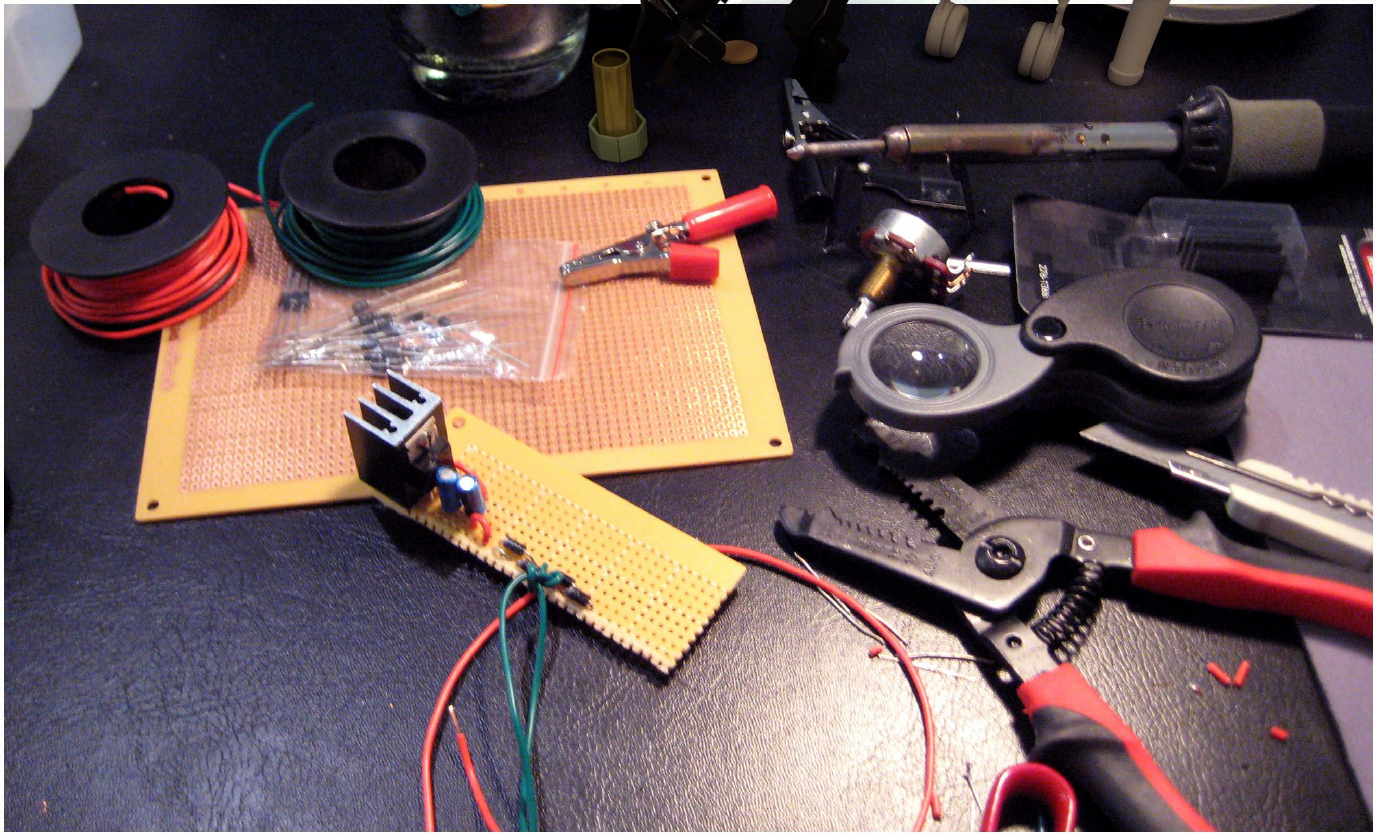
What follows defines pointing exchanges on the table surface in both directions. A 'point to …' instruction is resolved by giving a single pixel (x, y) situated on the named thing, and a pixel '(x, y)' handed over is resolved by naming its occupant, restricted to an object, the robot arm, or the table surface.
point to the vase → (614, 93)
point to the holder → (619, 142)
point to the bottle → (1137, 41)
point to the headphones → (1036, 51)
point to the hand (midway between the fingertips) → (643, 67)
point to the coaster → (740, 52)
